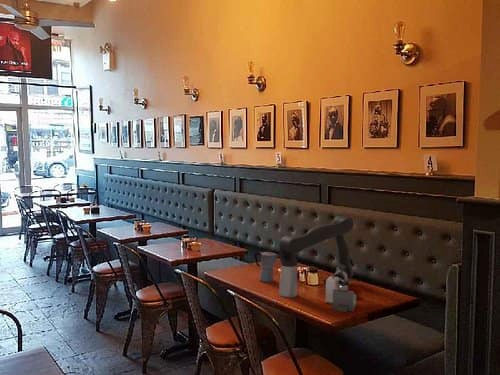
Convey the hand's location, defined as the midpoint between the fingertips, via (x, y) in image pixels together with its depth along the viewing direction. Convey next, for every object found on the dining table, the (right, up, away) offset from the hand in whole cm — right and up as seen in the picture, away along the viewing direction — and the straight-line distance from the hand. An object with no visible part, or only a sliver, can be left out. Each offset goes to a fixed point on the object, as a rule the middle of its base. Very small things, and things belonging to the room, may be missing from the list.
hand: (334, 284), depth 263 cm
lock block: (-2, -7, -5) cm, 9 cm away
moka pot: (-37, -5, +33) cm, 50 cm away
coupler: (+2, -8, -18) cm, 20 cm away
